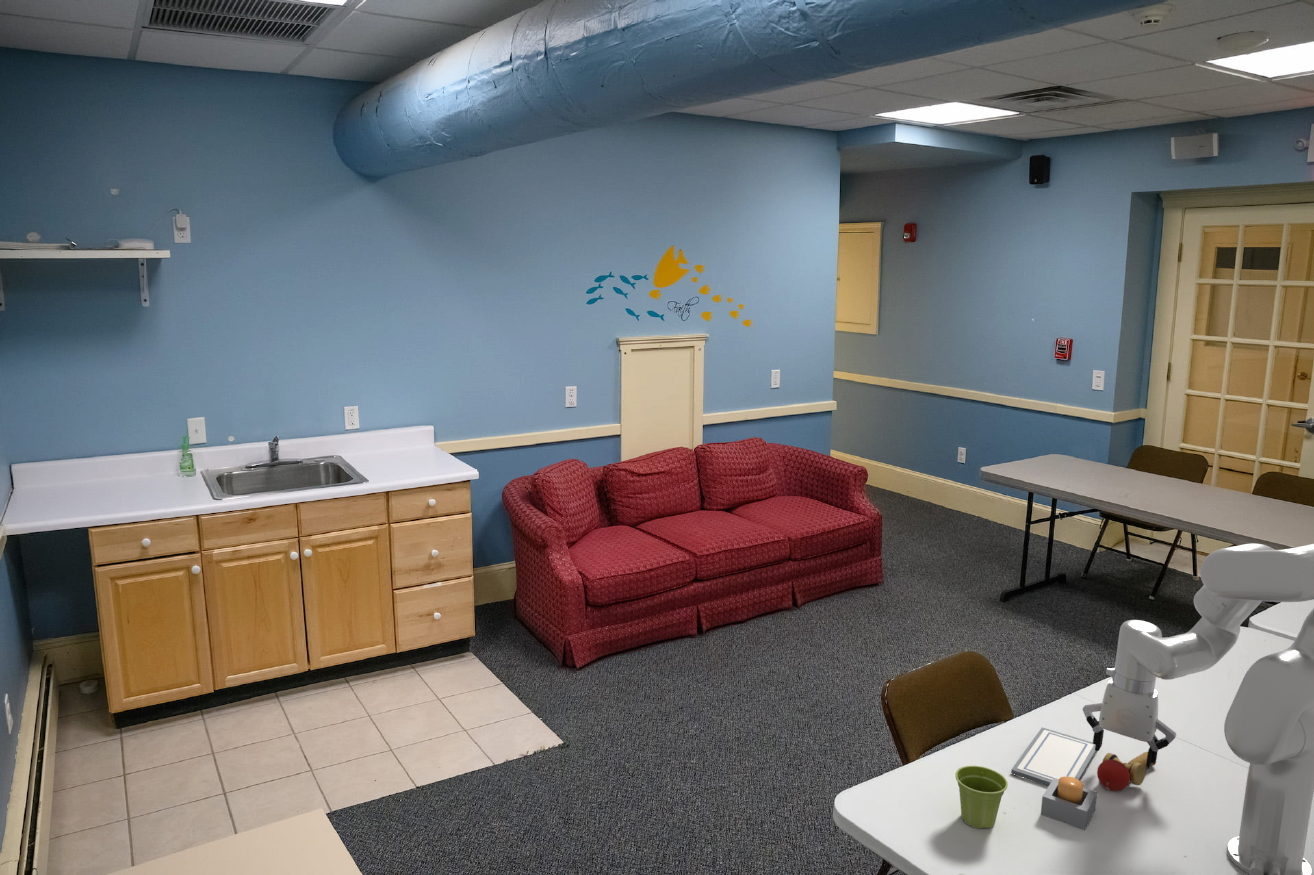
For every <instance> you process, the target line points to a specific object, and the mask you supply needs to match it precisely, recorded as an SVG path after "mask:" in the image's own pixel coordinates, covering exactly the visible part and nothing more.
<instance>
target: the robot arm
mask: <svg viewBox="0 0 1314 875" xmlns="http://www.w3.org/2000/svg"><path fill="white" fill-rule="evenodd" d="M1199 574H1200V579H1201V582H1202V587H1201V588H1200V589H1199V590H1198V591H1197V592H1196V593H1195V595H1194V596H1193V605H1194V607H1195V610H1196V611H1197V612H1198V614H1199V615H1200V616H1201V618H1200V619H1199V620H1198V621H1197V622H1196V624H1195V625H1194V626H1193V627H1192V628H1191V629H1190V630H1188V631H1187V632H1185V633H1182V634H1177V635H1173V636H1172V635H1171V636H1169V637H1168V636H1167V637H1163V633H1162V630H1161V628H1159V627H1158V626H1157V625H1155V624H1153V623H1151V622H1148V621H1145V620H1139V619H1129V620H1126V621H1124V622H1123V623H1122V624H1121V625H1120V628H1119V634H1118V642H1117V649H1116V656H1115V664H1114V667H1113V668H1108V667H1107V668H1106V670H1105V675H1107V676H1109V677H1111V679H1109V680H1108V682H1107V685H1106V688H1105V690H1104V693H1103V698H1102V702H1100V703H1091V704H1085V705H1083V707H1082V713H1083V714H1084V717H1085V718H1086V719H1085V720H1086V722H1087V724H1088V725H1089V726H1090V727H1091V729H1092V730H1091V731H1092V732H1093V738H1092V742H1093V744H1095V750H1096V751H1097V752H1099V751H1100V750H1101V748H1102V746H1103V740H1104V734H1105V733H1104V732H1105V730H1106V731H1109V732H1112V733H1115V734H1118V735H1121V736H1124V737H1128V738H1130V739H1133V740H1137V741H1140V742H1143V743H1144V742H1145V743H1146V744H1148V746H1149V748H1148V750H1147V752H1148V755H1147V762H1146V767H1147V769H1151V768H1152V766H1151V764H1152V763H1153V764H1155V763H1157V758H1158V751H1159V750H1162V749H1164V748H1166V747H1169V745H1170V744H1172V742H1173V741H1174V740H1175V739H1176V737H1177V732H1176V731H1174V730H1173V729H1171V728H1170V727H1169V726H1167V725H1166V724H1165V723H1164V722H1162V721H1161V720H1160V719H1159V694H1158V693H1159V692H1158V691H1157V689H1155V687H1156V683H1157V682H1156V680H1157V678H1158V679H1161V680H1165V681H1168V680H1169V681H1170V680H1175V679H1178V678H1183V677H1187V676H1189V675H1193V674H1197V673H1201V672H1205V671H1207V670H1209V669H1210V668H1213V667H1214V666H1215V665H1217V663H1219V662H1220V661H1221V660H1222V659H1223V658H1224V657H1225V656H1226V655H1227V654H1228V653H1229V652H1230V651H1231V649H1232V648H1233V647H1234V646H1235V644H1236V643H1237V641H1238V639H1239V635H1240V632H1241V625H1242V624H1243V622H1245V620H1246V619H1247V618H1248V617H1249V616H1250V615H1251V614H1252V613H1253V611H1254V610H1256V609H1257V607H1258V606H1260V605H1261V603H1262V602H1274V603H1299V602H1300V603H1301V602H1308V601H1313V600H1314V543H1311V544H1306V545H1302V546H1296V547H1291V548H1286V549H1274V548H1273V547H1272V546H1271V547H1270V546H1268V545H1266V544H1261V543H1256V542H1255V543H1254V542H1253V543H1252V542H1251V543H1244V544H1239V545H1236V546H1234V545H1233V546H1229V547H1223V548H1219V549H1216V550H1214V551H1212V552H1210V553H1209V554H1208V555H1207V556H1206V557H1204V559H1203V561H1202V563H1201V567H1200V571H1199ZM1095 712H1099V718H1098V720H1097V719H1096V717H1095V715H1093V713H1095ZM1223 724H1224V726H1223V729H1224V730H1223V733H1224V737H1225V741H1226V743H1227V745H1228V747H1229V749H1230V750H1231V752H1232V753H1233V754H1234V755H1235V756H1236V757H1237V758H1239V759H1241V760H1242V761H1244V762H1246V763H1249V764H1248V769H1247V770H1248V772H1247V776H1246V783H1245V785H1246V786H1245V792H1244V798H1243V803H1242V804H1243V806H1242V813H1241V820H1240V826H1239V827H1240V828H1239V834H1238V836H1235V837H1233V838H1232V839H1230V840H1229V841H1228V842H1227V846H1226V854H1227V856H1228V858H1229V859H1230V861H1231V862H1232V863H1234V865H1235V866H1236V867H1238V868H1239V869H1241V870H1242V871H1243V872H1245V873H1246V874H1248V875H1313V868H1312V866H1311V864H1310V863H1309V862H1308V860H1307V859H1305V858H1304V856H1305V849H1306V842H1307V837H1308V836H1307V835H1308V829H1309V822H1310V817H1311V816H1310V815H1311V809H1312V805H1313V803H1312V802H1313V799H1314V798H1313V796H1314V607H1313V608H1312V610H1311V611H1310V612H1309V613H1308V615H1307V616H1306V618H1305V619H1304V621H1303V623H1302V625H1301V627H1300V630H1299V632H1298V634H1297V636H1296V637H1295V640H1294V641H1293V642H1292V644H1291V645H1290V646H1289V647H1288V648H1286V649H1284V650H1281V651H1278V652H1274V653H1271V654H1268V655H1267V654H1266V655H1264V656H1263V657H1261V658H1259V659H1257V660H1256V661H1254V663H1253V664H1251V666H1250V667H1249V668H1248V670H1246V673H1245V674H1244V676H1243V679H1242V681H1241V683H1240V685H1239V687H1238V690H1237V692H1236V694H1235V695H1234V698H1233V700H1232V702H1231V705H1230V707H1229V708H1228V712H1227V713H1226V717H1225V720H1224V723H1223ZM1157 730H1158V731H1159V732H1161V733H1162V734H1163V735H1165V736H1164V737H1162V738H1161V739H1159V738H1158V736H1157V735H1156V732H1157ZM1155 765H1156V764H1155Z"/></svg>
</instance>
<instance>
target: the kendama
mask: <svg viewBox="0 0 1314 875" xmlns="http://www.w3.org/2000/svg"><path fill="white" fill-rule="evenodd" d="M1147 755H1148V751H1145V752H1143V753H1141V754H1140V755H1138V756H1136V757H1135V758H1133V759H1131V760H1129V761H1128V762H1123V761H1122V760H1120V758H1119V756H1118V755H1117V754H1115V753H1111V752H1108V753H1106V754H1105V755H1104V757H1103V759H1102V761H1101V762H1100V764H1099V765H1098V766H1097V771H1096V774H1097V779H1098V781H1099V783H1100V785H1102V787H1104V788H1105V789H1107V790H1109V791H1110V792H1120V791H1123V790H1125V789H1126V788H1127V787H1128V786H1129V785H1130V783H1131V784H1132V785H1135V786H1141V785H1142V784H1143V782H1144V781H1145V776H1146V768H1147V767H1146V762H1147ZM1156 763H1157V762H1156ZM1156 763H1155V764H1153V763H1152V764H1151V767H1153V766H1155V765H1156ZM1147 769H1148V768H1147Z"/></svg>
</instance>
